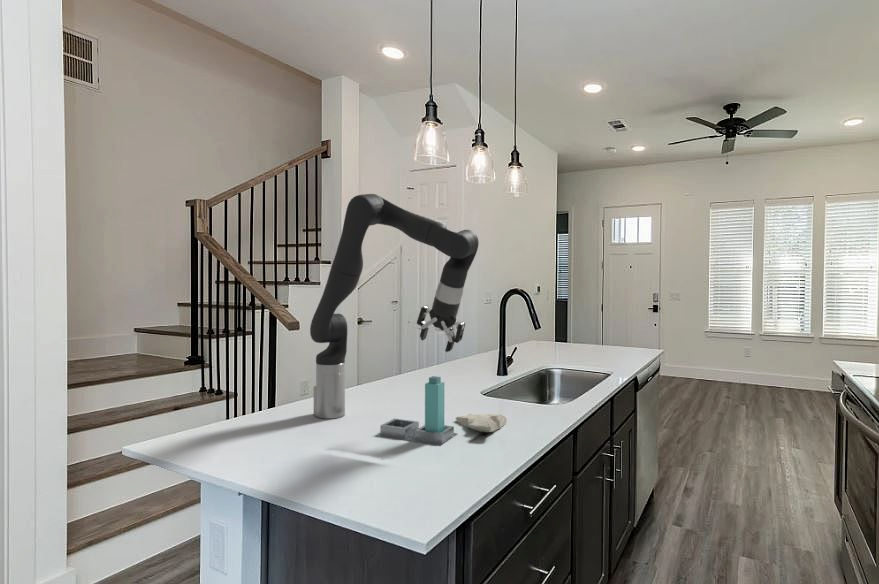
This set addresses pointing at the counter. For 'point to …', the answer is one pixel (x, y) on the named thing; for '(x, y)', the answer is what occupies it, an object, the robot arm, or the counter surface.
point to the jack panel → (415, 432)
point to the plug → (434, 405)
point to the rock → (483, 422)
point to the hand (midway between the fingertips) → (435, 345)
